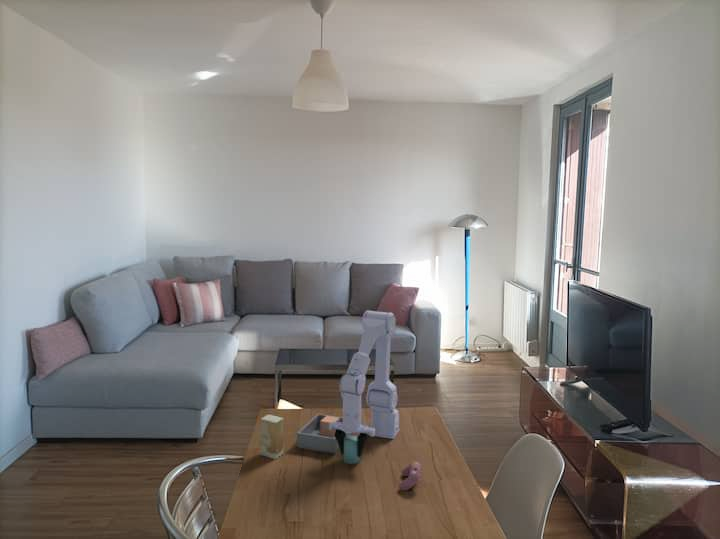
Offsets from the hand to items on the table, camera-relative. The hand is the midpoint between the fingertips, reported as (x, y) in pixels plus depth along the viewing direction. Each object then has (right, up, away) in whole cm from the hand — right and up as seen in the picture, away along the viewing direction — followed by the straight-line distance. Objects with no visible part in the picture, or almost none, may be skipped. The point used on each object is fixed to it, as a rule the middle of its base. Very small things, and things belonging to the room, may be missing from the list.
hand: (351, 454), depth 173 cm
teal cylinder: (0, -2, 0) cm, 2 cm away
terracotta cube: (-8, +1, +18) cm, 20 cm away
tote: (-9, 0, +15) cm, 17 cm away
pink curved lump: (+17, -4, -13) cm, 22 cm away
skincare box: (-25, -1, +3) cm, 26 cm away
